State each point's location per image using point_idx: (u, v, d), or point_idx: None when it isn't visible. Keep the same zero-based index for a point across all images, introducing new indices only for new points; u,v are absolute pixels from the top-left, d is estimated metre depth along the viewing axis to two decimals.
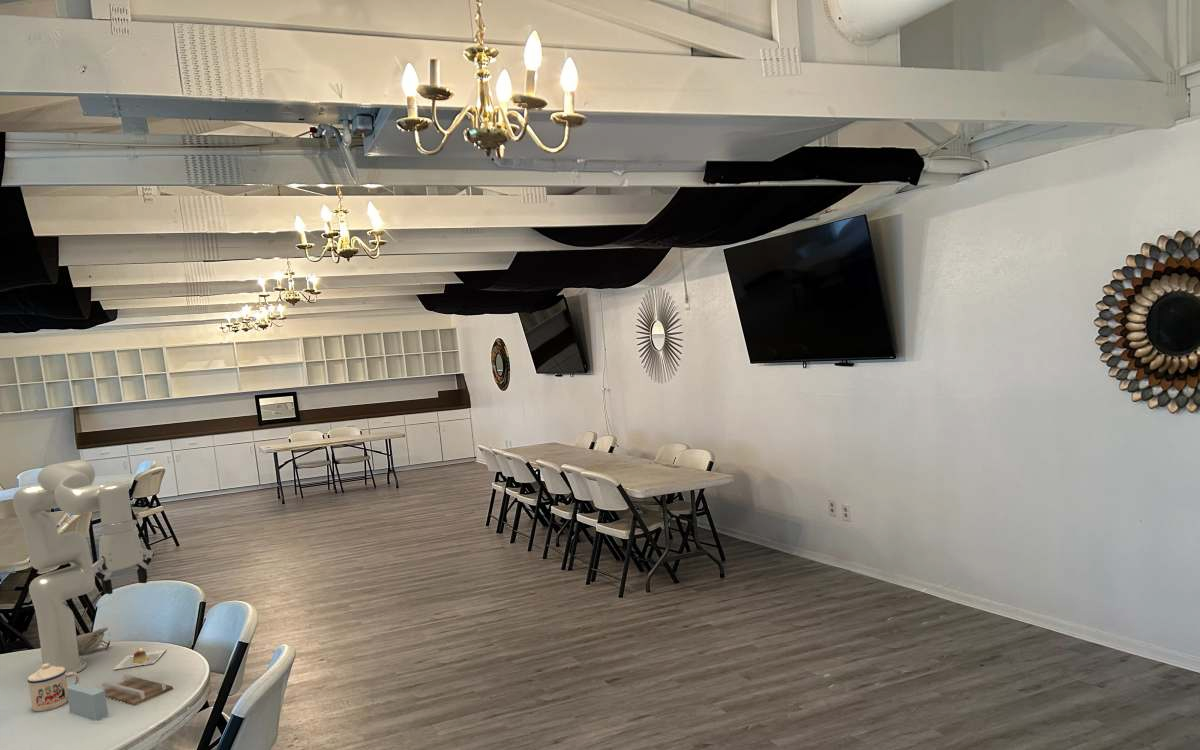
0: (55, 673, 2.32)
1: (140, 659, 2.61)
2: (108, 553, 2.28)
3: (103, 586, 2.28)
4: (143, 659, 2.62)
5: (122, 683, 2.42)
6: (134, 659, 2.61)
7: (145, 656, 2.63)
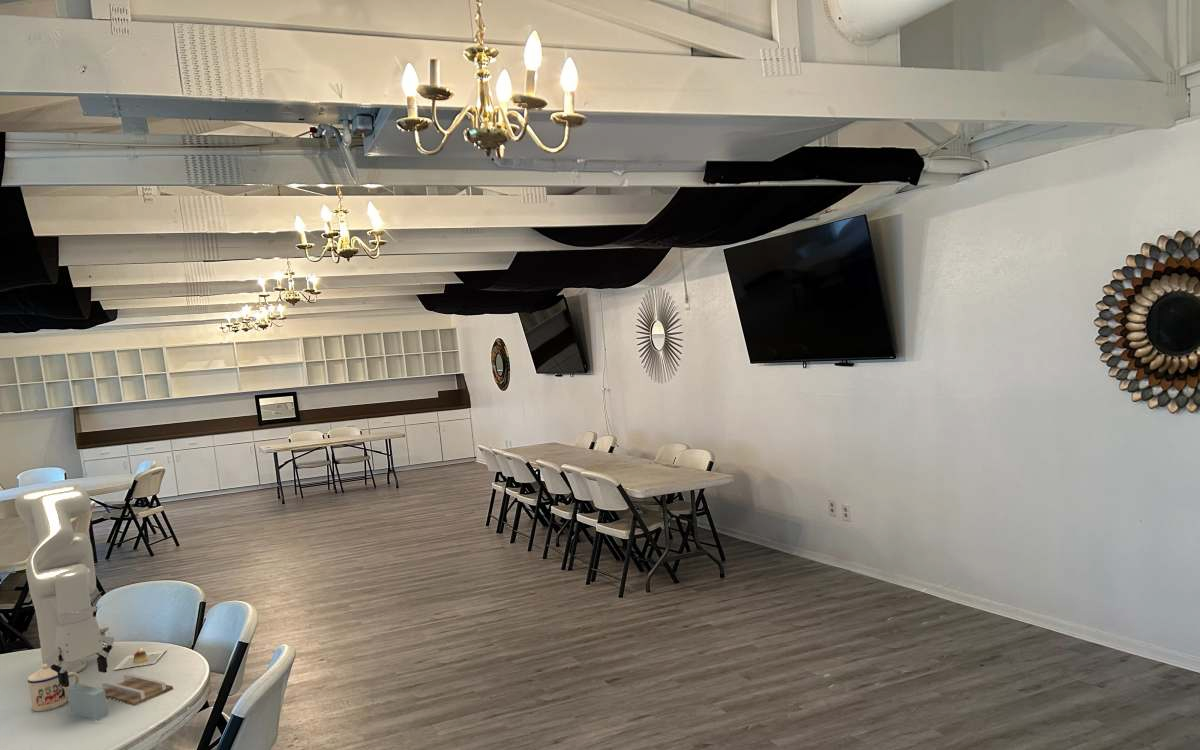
0: (55, 673, 2.32)
1: (140, 659, 2.61)
2: (65, 644, 2.18)
3: (59, 679, 2.19)
4: (143, 659, 2.62)
5: (122, 683, 2.42)
6: (134, 659, 2.61)
7: (145, 656, 2.63)
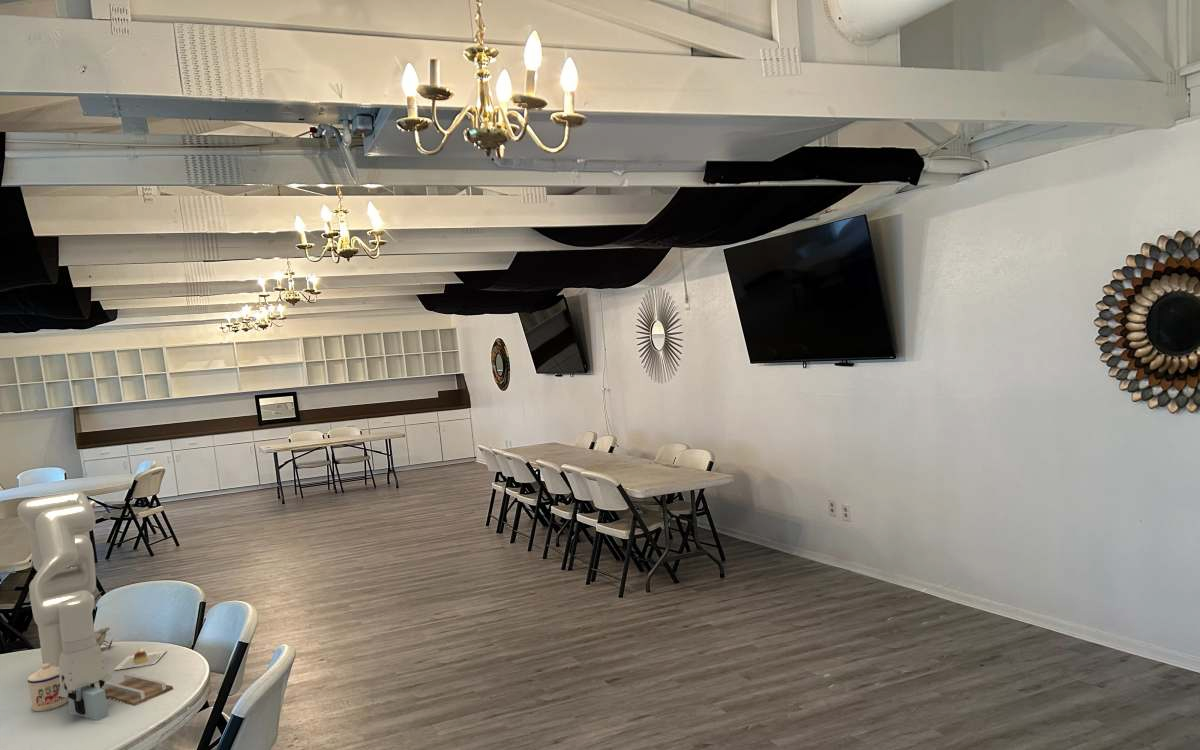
0: (55, 673, 2.32)
1: (141, 660, 2.61)
2: (69, 673, 2.19)
3: (76, 706, 2.22)
4: (144, 660, 2.61)
5: (122, 683, 2.42)
6: (134, 660, 2.61)
7: (146, 657, 2.62)
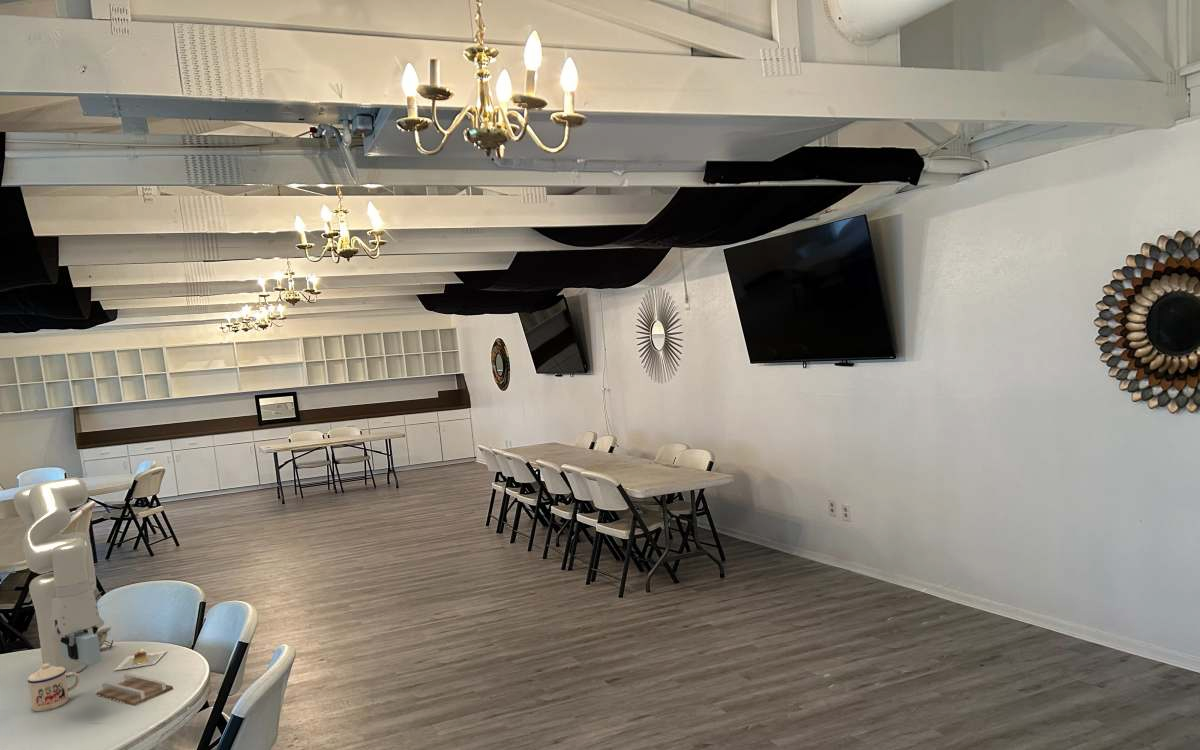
0: (55, 673, 2.32)
1: (141, 660, 2.61)
2: (62, 617, 2.18)
3: (69, 651, 2.21)
4: (144, 660, 2.61)
5: (122, 683, 2.42)
6: (135, 660, 2.61)
7: (146, 657, 2.62)
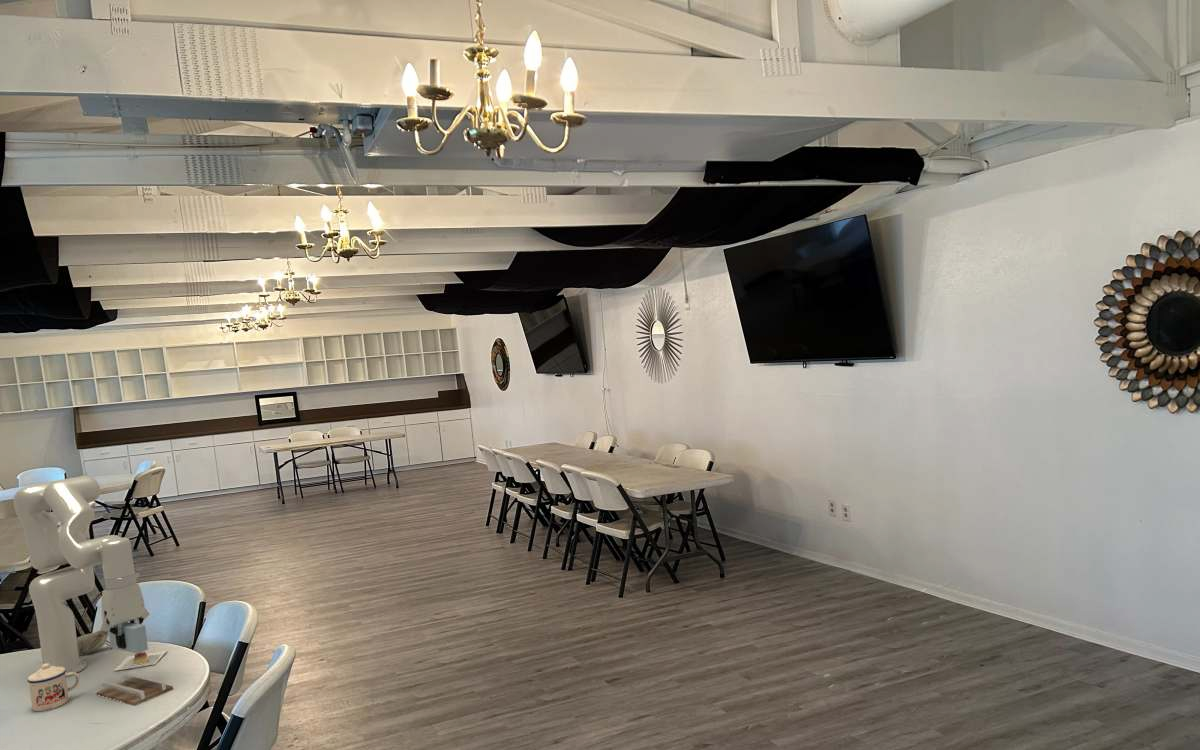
0: (55, 673, 2.32)
1: (141, 660, 2.60)
2: (111, 608, 2.31)
3: (117, 641, 2.34)
4: (144, 660, 2.61)
5: (122, 683, 2.42)
6: (135, 660, 2.60)
7: (146, 657, 2.62)
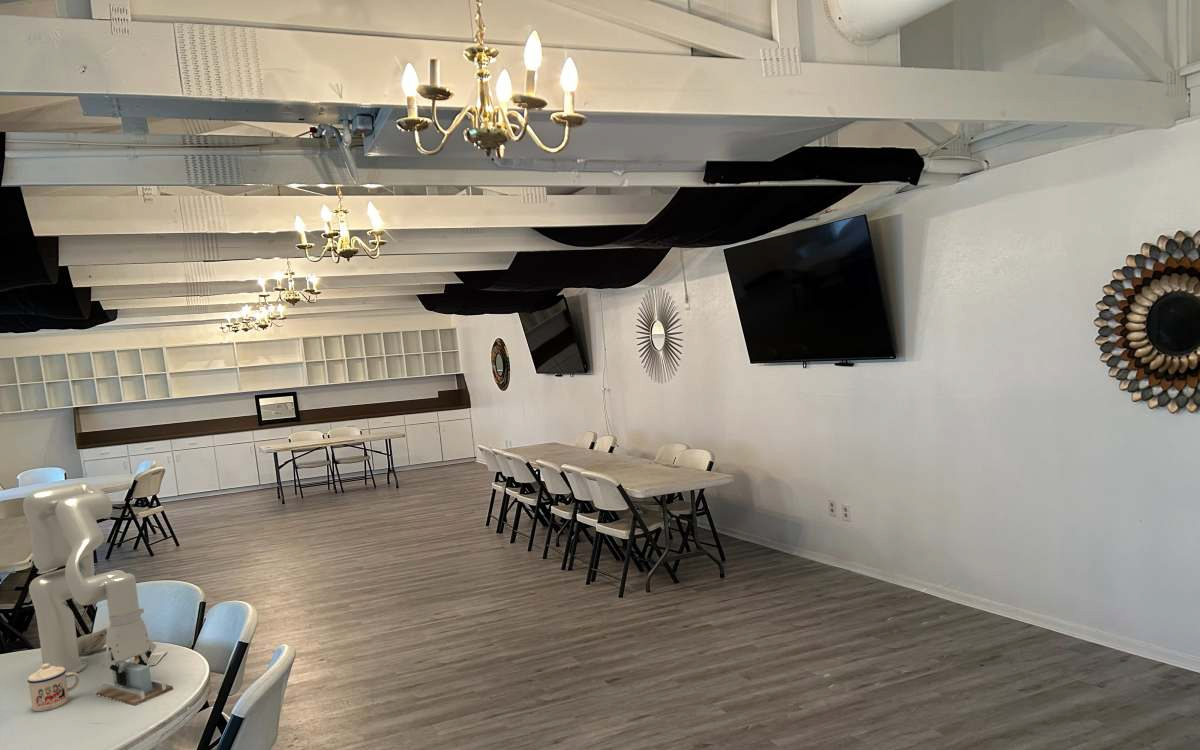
0: (55, 673, 2.32)
1: None
2: (115, 645, 2.31)
3: (117, 678, 2.33)
4: None
5: None
6: (135, 660, 2.60)
7: None
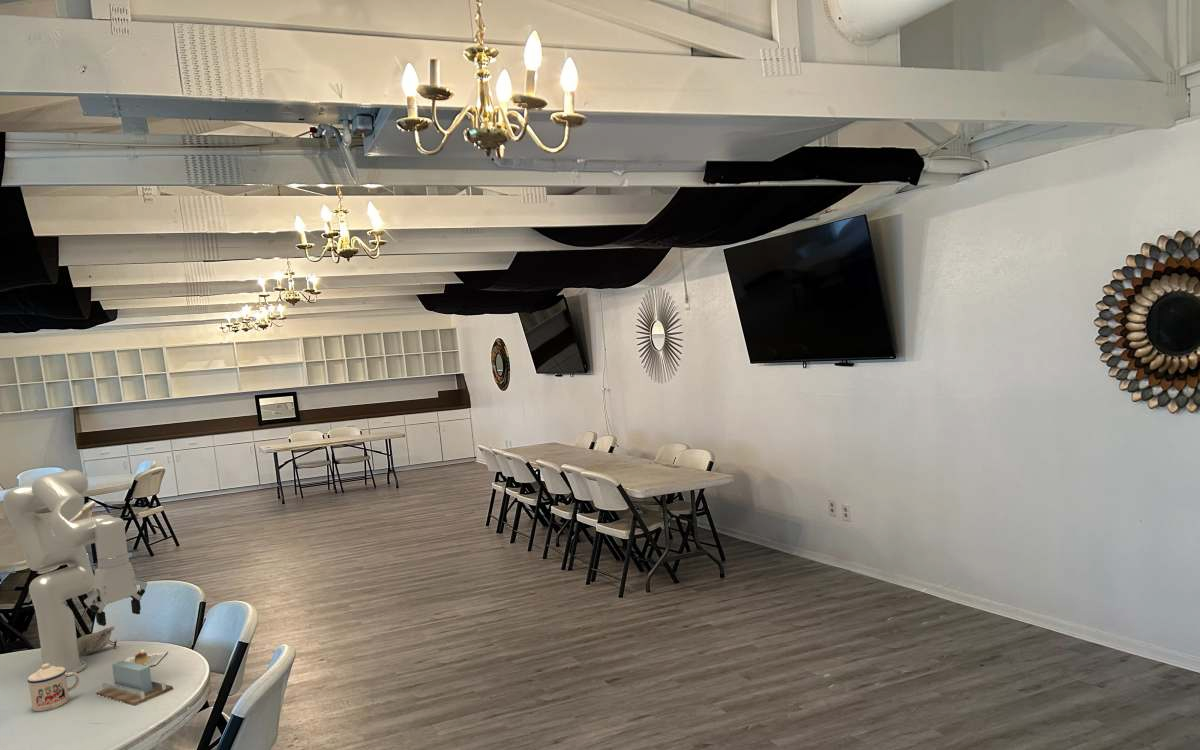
0: (55, 673, 2.32)
1: (141, 661, 2.60)
2: (103, 586, 2.35)
3: (97, 618, 2.35)
4: (144, 661, 2.60)
5: None
6: (135, 661, 2.60)
7: (146, 658, 2.61)
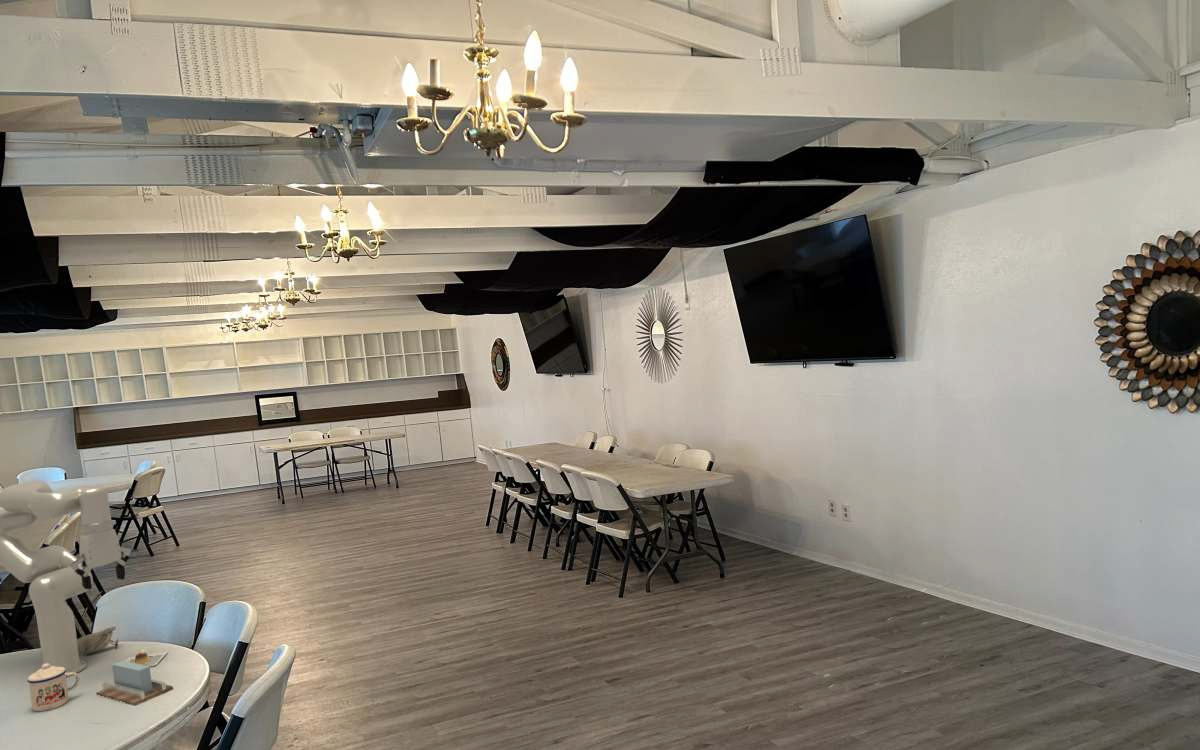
0: (55, 673, 2.32)
1: (142, 661, 2.59)
2: (88, 551, 2.46)
3: (83, 582, 2.46)
4: (145, 661, 2.60)
5: None
6: (136, 661, 2.59)
7: (147, 658, 2.61)
